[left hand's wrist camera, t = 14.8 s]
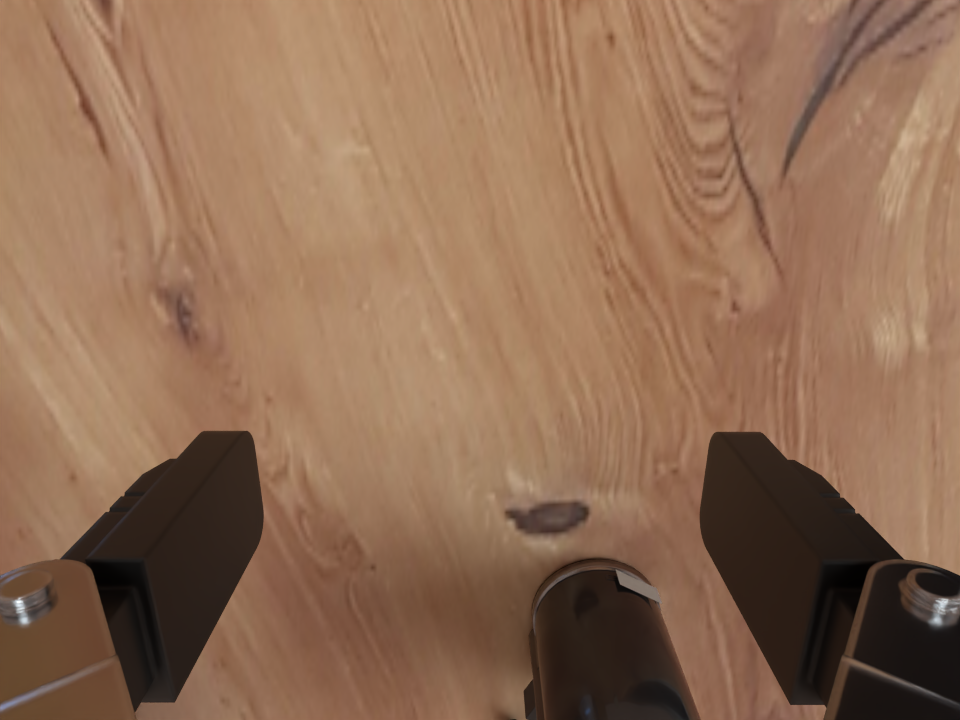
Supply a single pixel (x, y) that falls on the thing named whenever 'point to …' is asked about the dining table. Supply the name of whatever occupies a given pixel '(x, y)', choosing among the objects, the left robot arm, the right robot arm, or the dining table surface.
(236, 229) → the dining table surface
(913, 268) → the dining table surface
